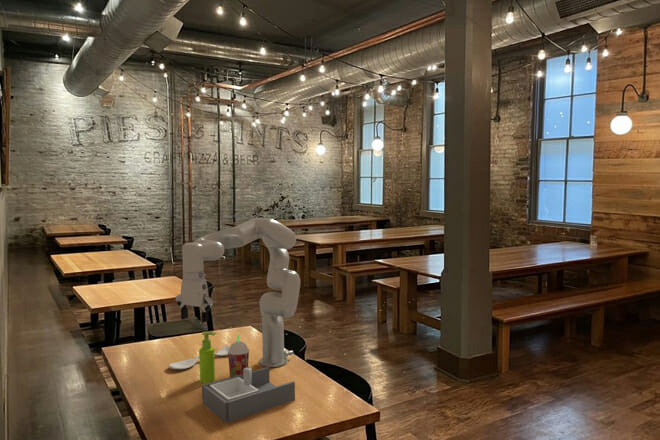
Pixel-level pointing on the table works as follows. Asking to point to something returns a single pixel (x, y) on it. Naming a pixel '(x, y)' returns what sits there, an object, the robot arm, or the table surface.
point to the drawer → (235, 386)
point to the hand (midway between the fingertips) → (194, 320)
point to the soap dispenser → (207, 359)
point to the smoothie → (238, 357)
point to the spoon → (191, 362)
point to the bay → (249, 397)
